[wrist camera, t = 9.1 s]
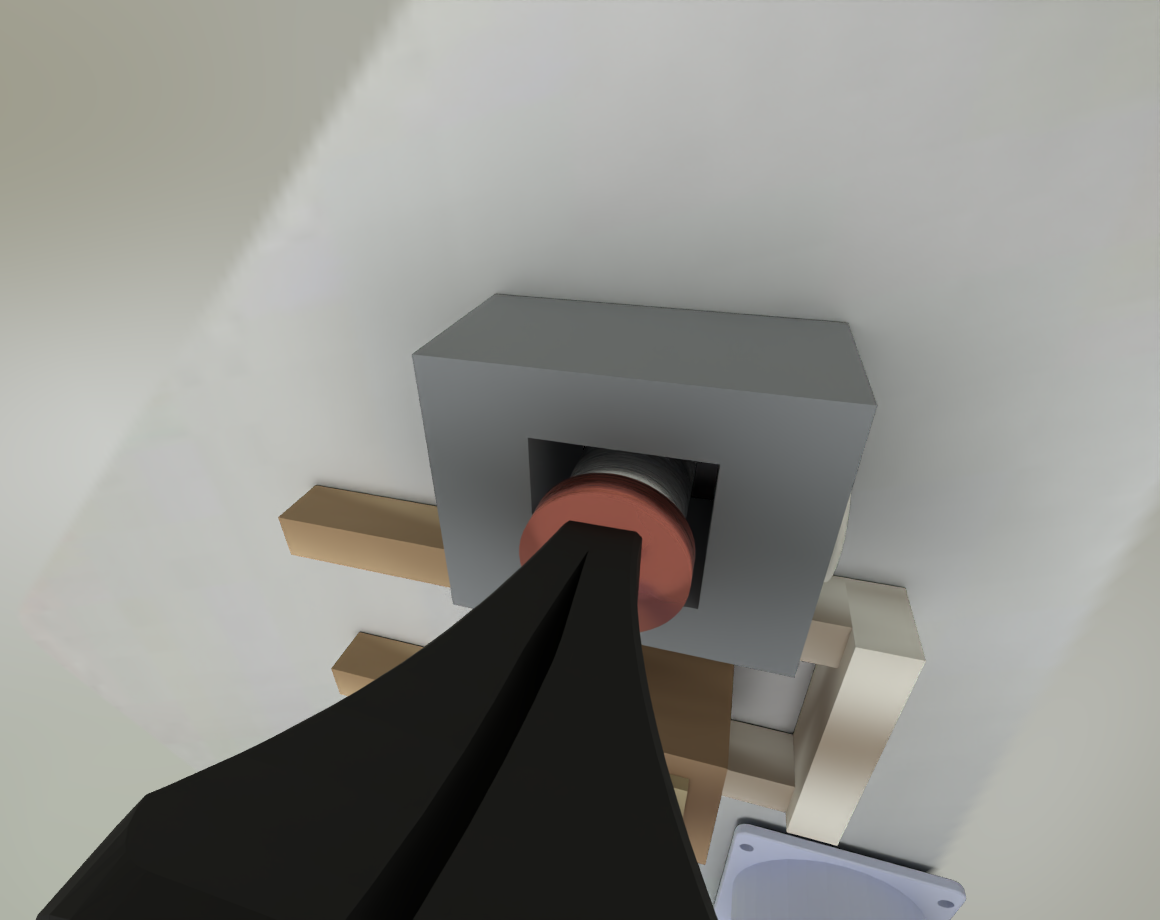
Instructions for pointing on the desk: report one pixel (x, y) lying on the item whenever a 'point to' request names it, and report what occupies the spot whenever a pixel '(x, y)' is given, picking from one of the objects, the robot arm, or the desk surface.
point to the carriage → (693, 733)
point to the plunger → (629, 520)
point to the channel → (756, 755)
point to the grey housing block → (655, 449)
